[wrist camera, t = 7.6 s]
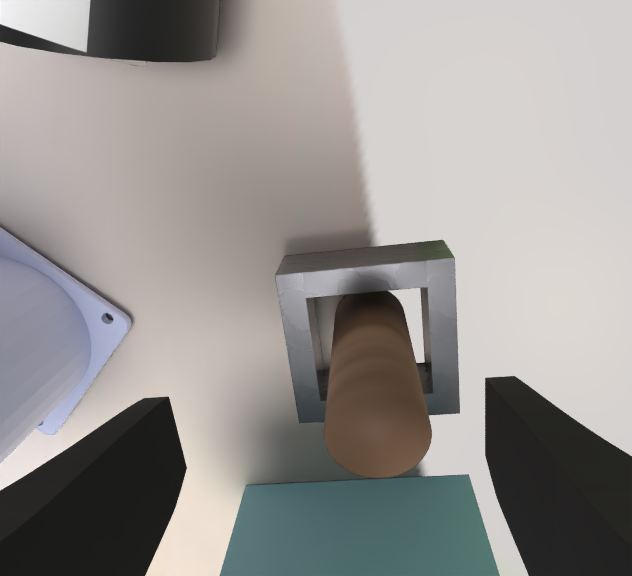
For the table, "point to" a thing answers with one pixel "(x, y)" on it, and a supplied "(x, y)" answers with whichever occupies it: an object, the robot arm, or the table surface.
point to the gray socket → (360, 277)
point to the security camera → (115, 28)
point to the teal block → (361, 529)
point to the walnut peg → (374, 389)
